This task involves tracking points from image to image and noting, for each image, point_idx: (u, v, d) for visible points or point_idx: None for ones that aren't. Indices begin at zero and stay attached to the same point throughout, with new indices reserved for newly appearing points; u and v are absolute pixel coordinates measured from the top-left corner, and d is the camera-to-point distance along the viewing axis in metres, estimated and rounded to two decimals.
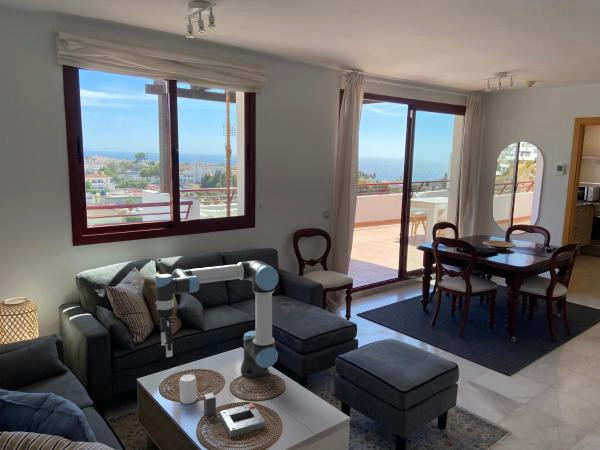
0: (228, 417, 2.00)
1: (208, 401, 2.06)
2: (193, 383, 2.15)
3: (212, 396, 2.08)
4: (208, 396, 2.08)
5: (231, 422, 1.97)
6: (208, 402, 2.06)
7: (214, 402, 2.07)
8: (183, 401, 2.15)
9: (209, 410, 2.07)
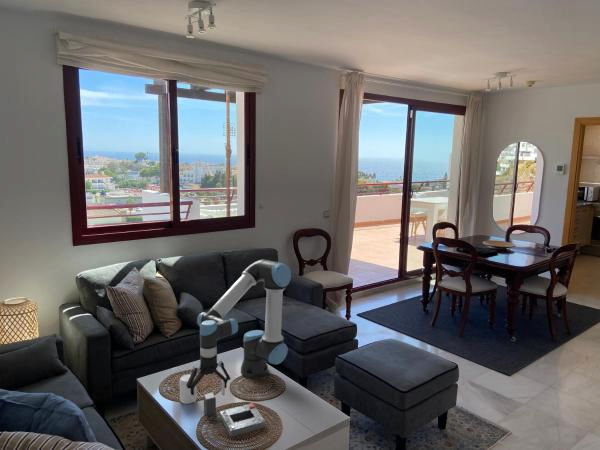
0: (228, 417, 2.00)
1: (208, 401, 2.06)
2: None
3: (212, 396, 2.08)
4: (208, 396, 2.08)
5: (231, 422, 1.97)
6: (208, 402, 2.06)
7: (214, 402, 2.07)
8: (183, 401, 2.15)
9: (209, 410, 2.07)
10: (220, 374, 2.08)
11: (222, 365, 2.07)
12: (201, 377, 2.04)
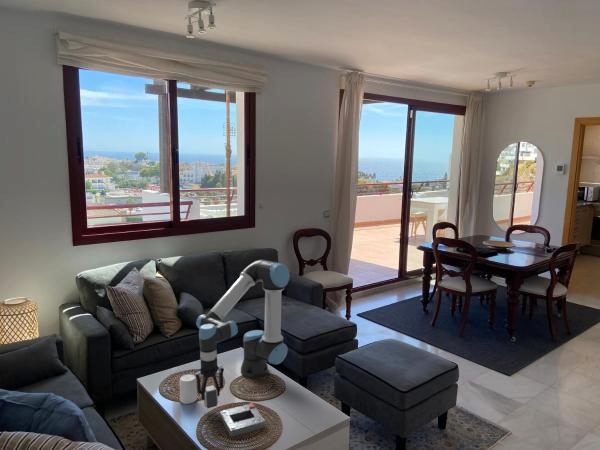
0: (228, 417, 2.00)
1: (209, 393, 2.06)
2: (193, 383, 2.15)
3: (213, 388, 2.07)
4: (209, 388, 2.08)
5: (231, 422, 1.97)
6: (209, 394, 2.06)
7: (215, 394, 2.07)
8: (183, 401, 2.15)
9: (210, 403, 2.07)
10: (216, 380, 2.07)
11: (222, 371, 2.08)
12: (206, 381, 2.05)
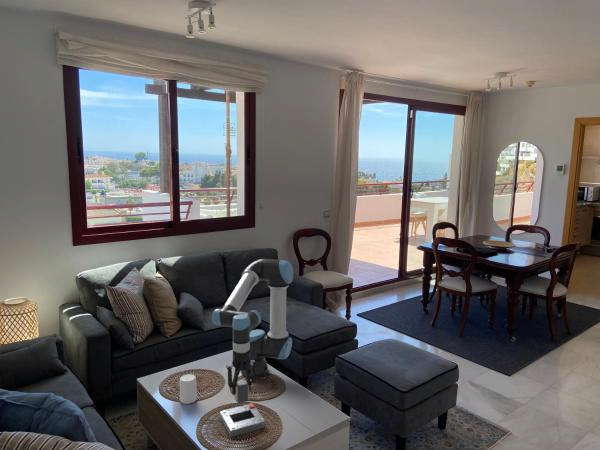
0: (228, 417, 2.00)
1: (240, 387, 1.96)
2: (193, 383, 2.15)
3: (244, 382, 1.98)
4: (240, 382, 1.98)
5: (231, 422, 1.97)
6: (240, 388, 1.96)
7: (246, 389, 1.98)
8: (183, 401, 2.15)
9: (241, 398, 1.97)
10: (248, 374, 1.98)
11: (254, 364, 1.99)
12: (238, 374, 1.96)
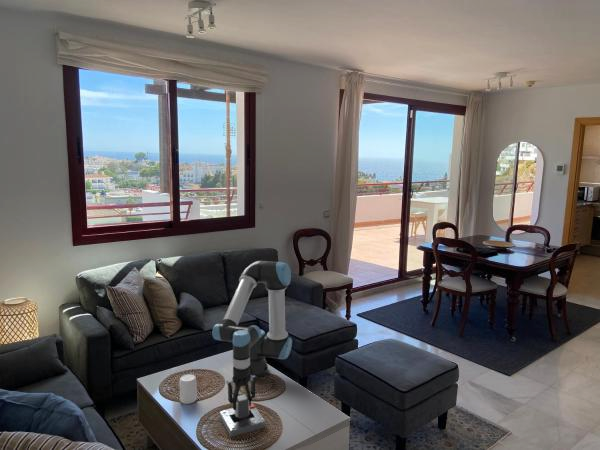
0: (228, 417, 2.00)
1: (241, 403, 1.98)
2: (193, 383, 2.15)
3: (244, 398, 1.99)
4: (240, 397, 2.00)
5: (231, 422, 1.97)
6: (240, 404, 1.98)
7: (247, 404, 1.99)
8: (183, 401, 2.15)
9: (242, 413, 1.99)
10: None
11: (254, 379, 2.00)
12: (238, 390, 1.97)
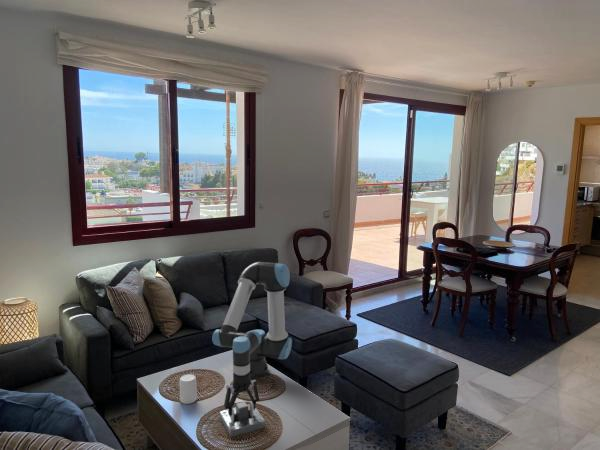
0: (228, 417, 2.00)
1: (241, 410, 1.98)
2: (193, 383, 2.15)
3: (245, 405, 2.00)
4: (241, 404, 2.00)
5: (231, 422, 1.97)
6: (241, 411, 1.98)
7: (247, 411, 2.00)
8: (183, 401, 2.15)
9: (242, 420, 1.99)
10: (251, 394, 2.01)
11: (255, 384, 2.01)
12: (236, 396, 1.97)
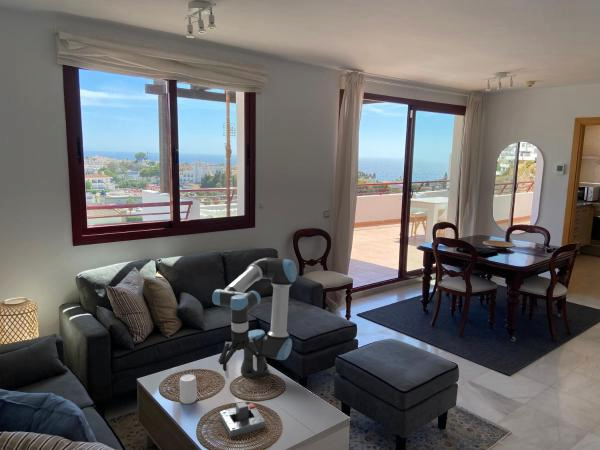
0: (228, 417, 2.00)
1: (241, 410, 1.98)
2: (193, 383, 2.15)
3: (245, 405, 2.00)
4: (241, 404, 2.00)
5: (231, 422, 1.97)
6: (241, 411, 1.98)
7: (247, 411, 2.00)
8: (183, 401, 2.15)
9: (242, 420, 1.99)
10: (252, 349, 2.02)
11: (254, 340, 2.02)
12: (233, 353, 1.98)
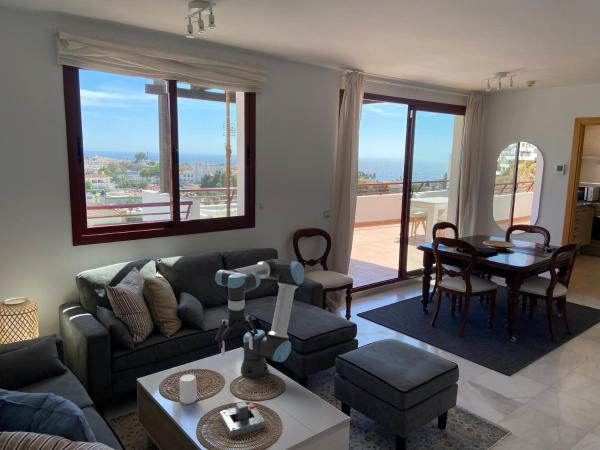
0: (228, 417, 2.00)
1: (241, 410, 1.98)
2: (193, 383, 2.15)
3: (245, 405, 2.00)
4: (241, 404, 2.00)
5: (231, 422, 1.97)
6: (241, 411, 1.98)
7: (247, 411, 2.00)
8: (183, 401, 2.15)
9: (242, 420, 1.99)
10: (248, 328, 2.08)
11: (250, 319, 2.08)
12: (229, 330, 2.04)
